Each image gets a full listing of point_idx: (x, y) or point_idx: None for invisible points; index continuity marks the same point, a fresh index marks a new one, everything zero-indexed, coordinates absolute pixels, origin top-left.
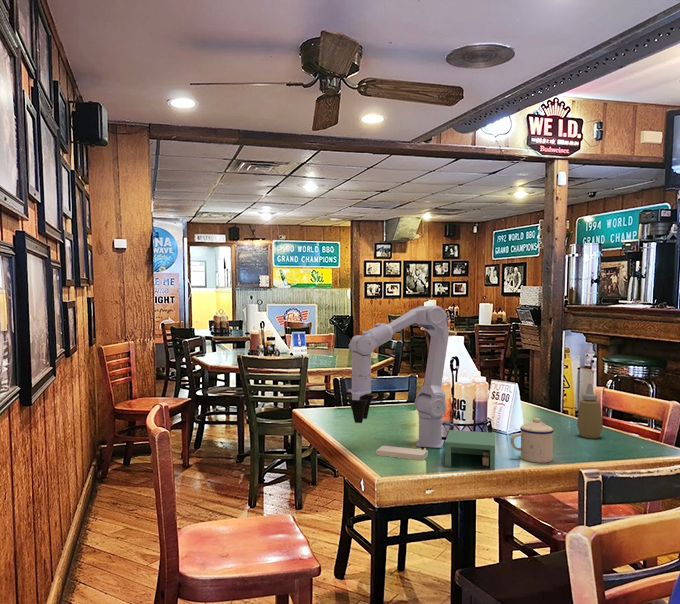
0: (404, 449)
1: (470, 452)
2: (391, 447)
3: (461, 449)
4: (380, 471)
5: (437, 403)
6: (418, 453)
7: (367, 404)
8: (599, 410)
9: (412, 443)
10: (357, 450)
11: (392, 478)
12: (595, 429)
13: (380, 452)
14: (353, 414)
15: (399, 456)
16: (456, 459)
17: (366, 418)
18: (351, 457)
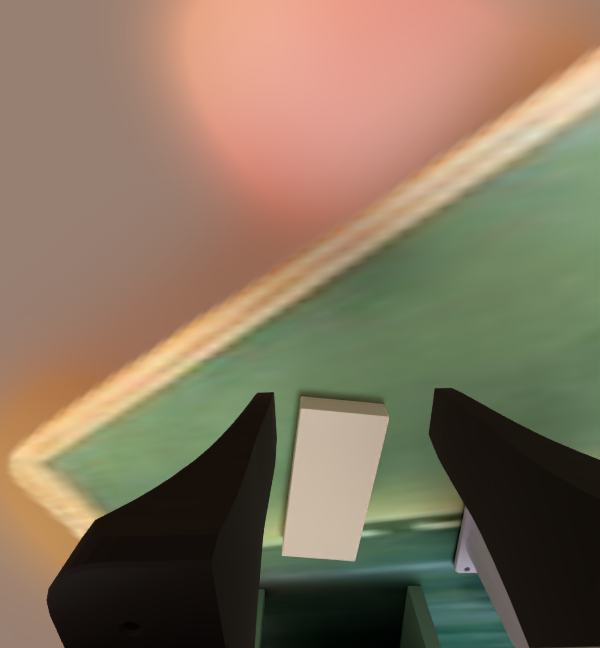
0: (346, 497)
1: (403, 634)
2: (363, 452)
3: (408, 626)
4: (96, 451)
5: None
6: (301, 542)
7: (504, 556)
8: None
9: None
10: (356, 305)
11: (46, 493)
12: None
13: (298, 419)
14: (228, 429)
15: (290, 478)
16: (330, 605)
17: (430, 437)
18: (228, 311)
